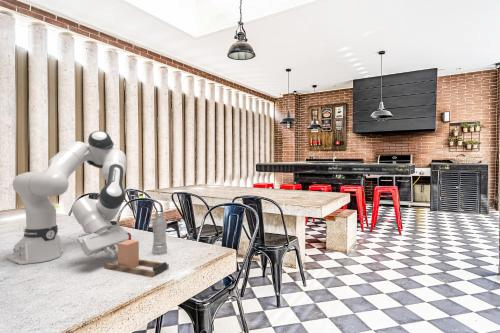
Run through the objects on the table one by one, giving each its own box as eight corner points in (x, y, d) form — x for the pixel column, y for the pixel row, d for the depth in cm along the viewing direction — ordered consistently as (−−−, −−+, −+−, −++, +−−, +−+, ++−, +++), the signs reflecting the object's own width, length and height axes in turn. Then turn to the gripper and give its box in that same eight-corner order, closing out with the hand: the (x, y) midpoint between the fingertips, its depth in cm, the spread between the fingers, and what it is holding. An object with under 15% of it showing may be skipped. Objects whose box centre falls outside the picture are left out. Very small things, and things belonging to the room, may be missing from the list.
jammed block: (117, 268, 116) (117, 243, 116) (129, 263, 122) (129, 239, 121) (127, 270, 114) (127, 244, 114) (139, 265, 120) (138, 240, 119)
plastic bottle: (151, 253, 138) (151, 211, 138) (166, 251, 141) (165, 210, 141) (152, 257, 132) (152, 213, 132) (168, 255, 135) (167, 212, 135)
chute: (104, 271, 117) (104, 261, 117) (122, 263, 125) (122, 254, 125) (152, 280, 107) (152, 269, 107) (168, 271, 116) (168, 261, 116)
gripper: (78, 230, 114) (97, 259, 110) (120, 220, 132) (138, 244, 129) (71, 241, 115) (89, 269, 112) (113, 229, 134) (130, 253, 131)
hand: (115, 255), depth 121 cm, fingers closed
